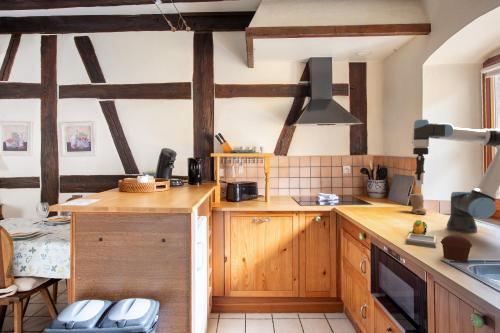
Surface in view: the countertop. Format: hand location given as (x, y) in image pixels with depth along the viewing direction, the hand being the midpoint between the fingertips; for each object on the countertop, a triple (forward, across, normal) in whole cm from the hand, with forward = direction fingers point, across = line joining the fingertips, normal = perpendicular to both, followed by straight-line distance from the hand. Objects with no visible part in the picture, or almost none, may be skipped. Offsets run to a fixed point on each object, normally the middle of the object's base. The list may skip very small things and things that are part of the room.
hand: (419, 185), depth 174 cm
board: (+28, +16, +3) cm, 32 cm away
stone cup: (+28, -69, -5) cm, 75 cm away
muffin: (+28, +36, +17) cm, 49 cm away
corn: (+28, 0, +1) cm, 28 cm away
